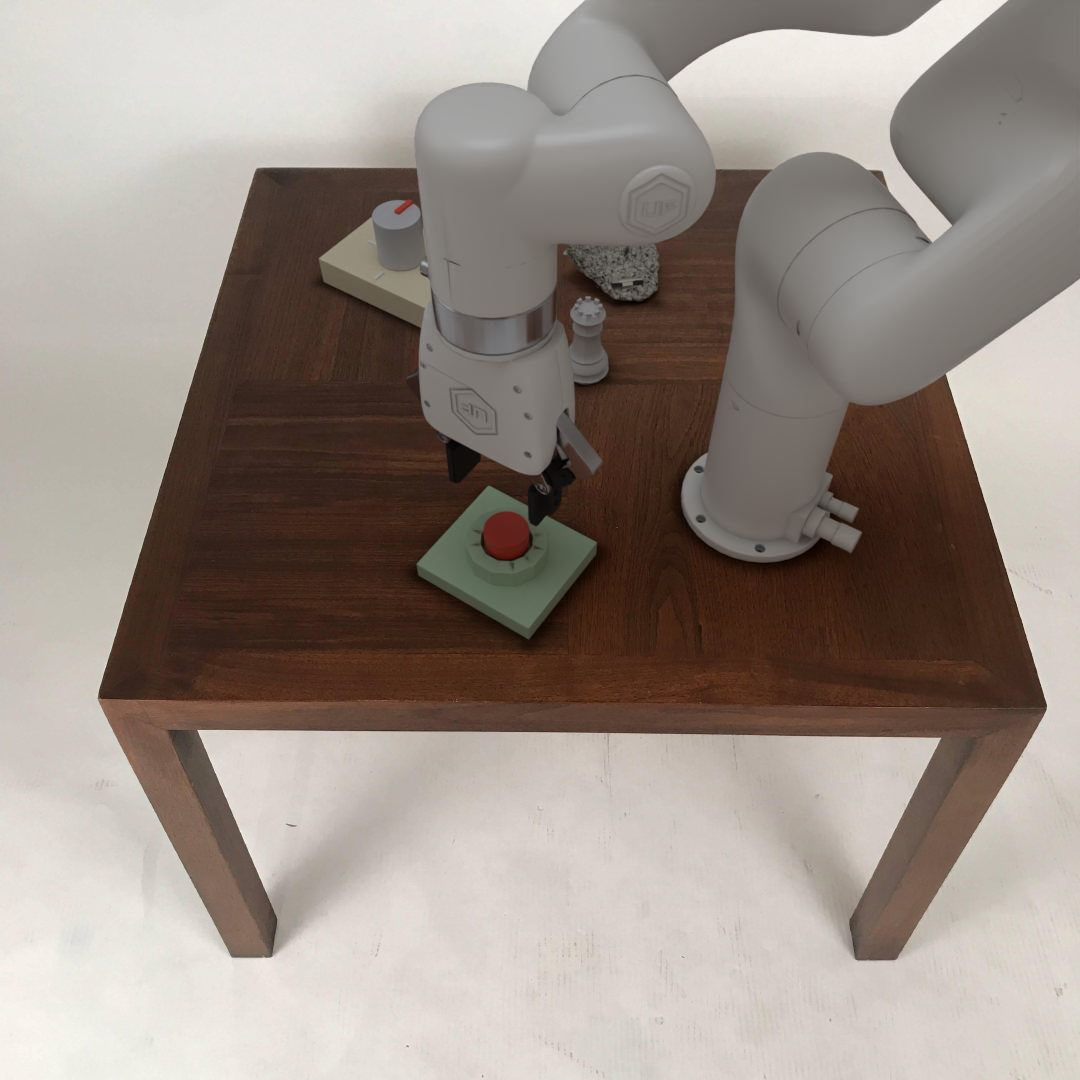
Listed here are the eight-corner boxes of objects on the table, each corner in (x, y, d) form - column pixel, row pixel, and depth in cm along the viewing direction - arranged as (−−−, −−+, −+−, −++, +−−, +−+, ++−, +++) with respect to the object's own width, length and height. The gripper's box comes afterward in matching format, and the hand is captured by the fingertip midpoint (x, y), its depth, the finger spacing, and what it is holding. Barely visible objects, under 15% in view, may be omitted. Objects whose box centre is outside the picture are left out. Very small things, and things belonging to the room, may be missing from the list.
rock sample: (614, 297, 95) (606, 205, 95) (564, 312, 101) (556, 226, 101) (688, 302, 102) (681, 216, 101) (636, 315, 108) (630, 234, 107)
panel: (487, 278, 103) (486, 253, 101) (429, 332, 98) (426, 307, 96) (384, 233, 108) (380, 208, 106) (323, 282, 103) (317, 257, 101)
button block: (596, 554, 82) (598, 528, 79) (528, 640, 77) (528, 616, 74) (489, 497, 86) (487, 471, 83) (418, 575, 81) (413, 550, 78)
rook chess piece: (604, 390, 93) (609, 324, 87) (558, 383, 94) (559, 318, 88) (611, 358, 96) (616, 292, 90) (566, 352, 97) (568, 286, 90)
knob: (405, 277, 99) (399, 232, 95) (369, 260, 100) (361, 215, 96) (435, 252, 101) (430, 207, 97) (398, 236, 103) (392, 191, 99)
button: (538, 537, 79) (537, 524, 78) (512, 567, 77) (511, 554, 76) (501, 517, 80) (500, 504, 79) (475, 547, 78) (474, 534, 77)
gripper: (344, 283, 60) (382, 474, 75) (582, 395, 55) (574, 578, 69) (420, 222, 64) (442, 414, 78) (650, 320, 58) (629, 509, 73)
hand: (504, 490), depth 74 cm, fingers open, 6 cm apart
